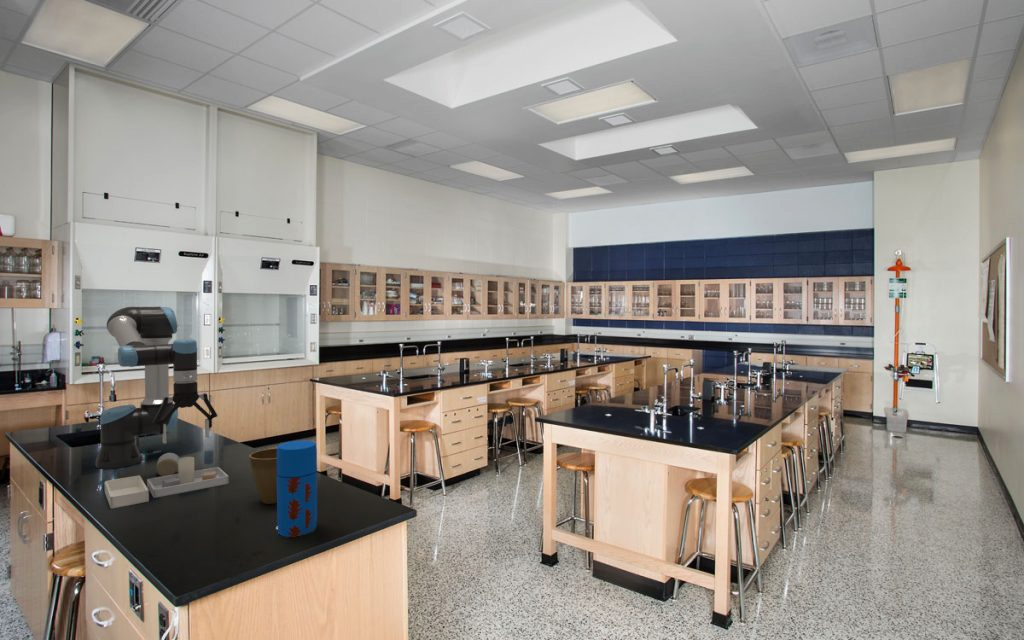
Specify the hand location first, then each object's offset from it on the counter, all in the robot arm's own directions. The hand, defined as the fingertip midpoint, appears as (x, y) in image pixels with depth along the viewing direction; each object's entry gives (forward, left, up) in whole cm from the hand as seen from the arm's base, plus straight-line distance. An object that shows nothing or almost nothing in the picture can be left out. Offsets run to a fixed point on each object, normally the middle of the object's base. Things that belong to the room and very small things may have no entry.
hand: (186, 439), depth 200 cm
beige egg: (0, 0, -16) cm, 16 cm away
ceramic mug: (-17, -2, -17) cm, 24 cm away
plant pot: (+38, +19, -17) cm, 45 cm away
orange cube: (+7, +6, -16) cm, 18 cm away
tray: (+3, 0, -16) cm, 17 cm away
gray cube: (+7, -6, -16) cm, 18 cm away
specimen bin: (+3, -19, -16) cm, 25 cm away
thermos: (+68, +16, -17) cm, 72 cm away
